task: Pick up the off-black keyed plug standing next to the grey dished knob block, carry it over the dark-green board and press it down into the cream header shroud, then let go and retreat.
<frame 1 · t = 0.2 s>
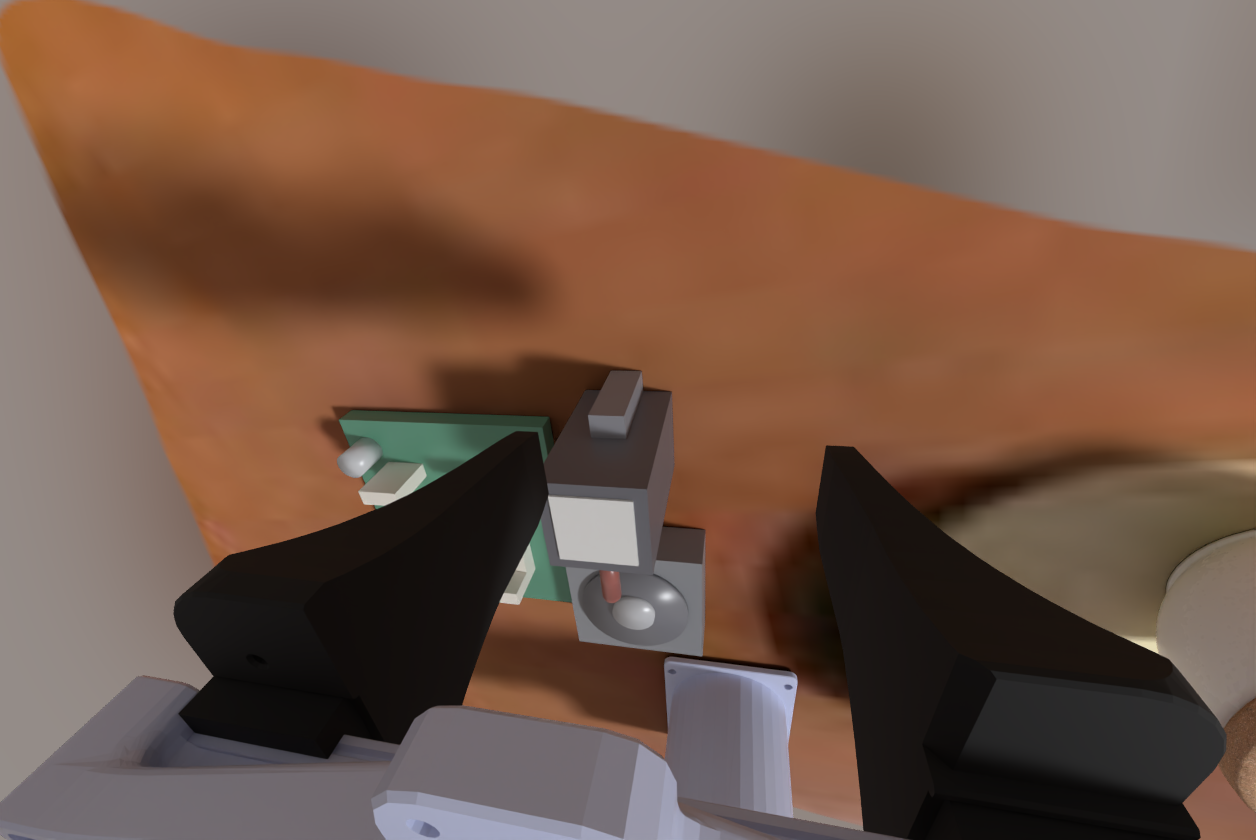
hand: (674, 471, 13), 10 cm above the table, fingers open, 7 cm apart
board: (472, 505, 29), on the table
plug: (631, 428, 24), on the table
grey dished knob block: (642, 571, 29), on the table
lidded jar: (1251, 575, 22), on the table
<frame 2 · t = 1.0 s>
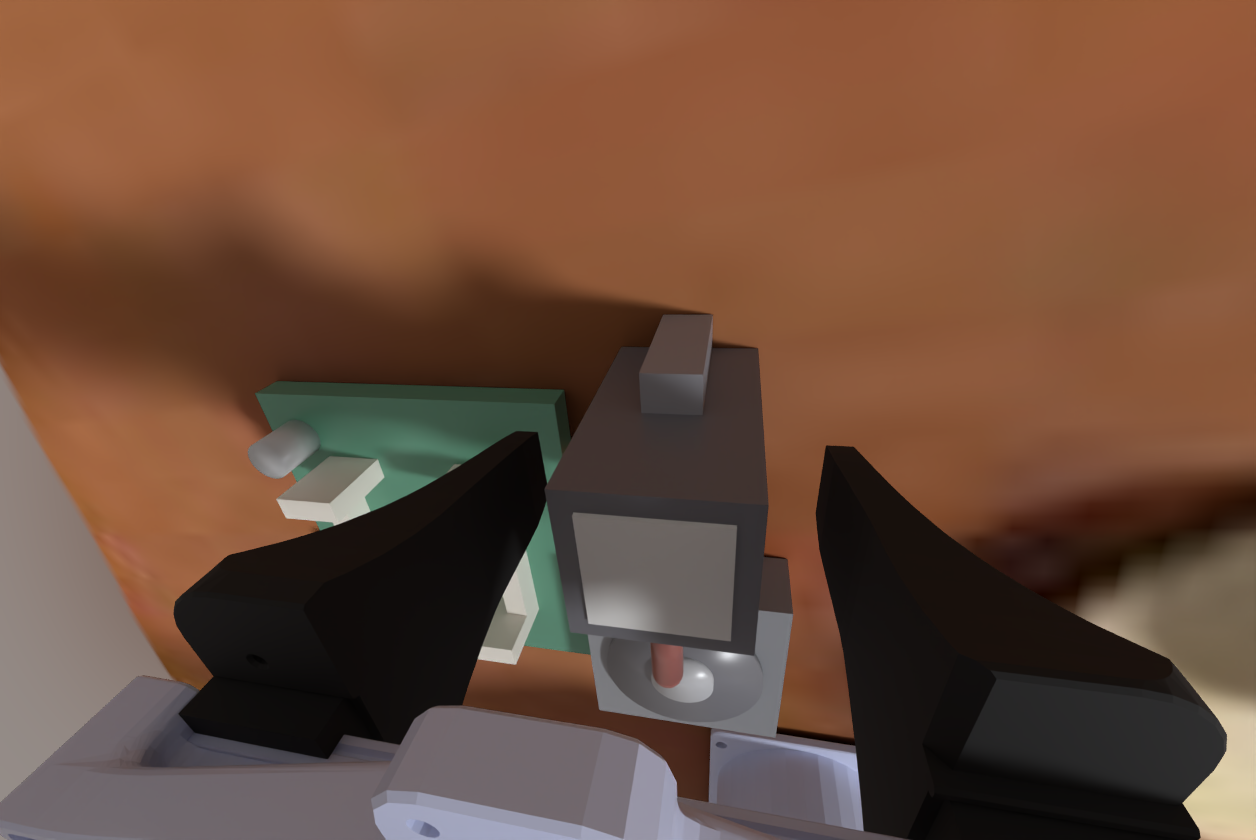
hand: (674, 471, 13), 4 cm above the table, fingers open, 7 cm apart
board: (452, 519, 20), on the table
plug: (688, 407, 16), on the table
grey dished knob block: (689, 614, 21), on the table
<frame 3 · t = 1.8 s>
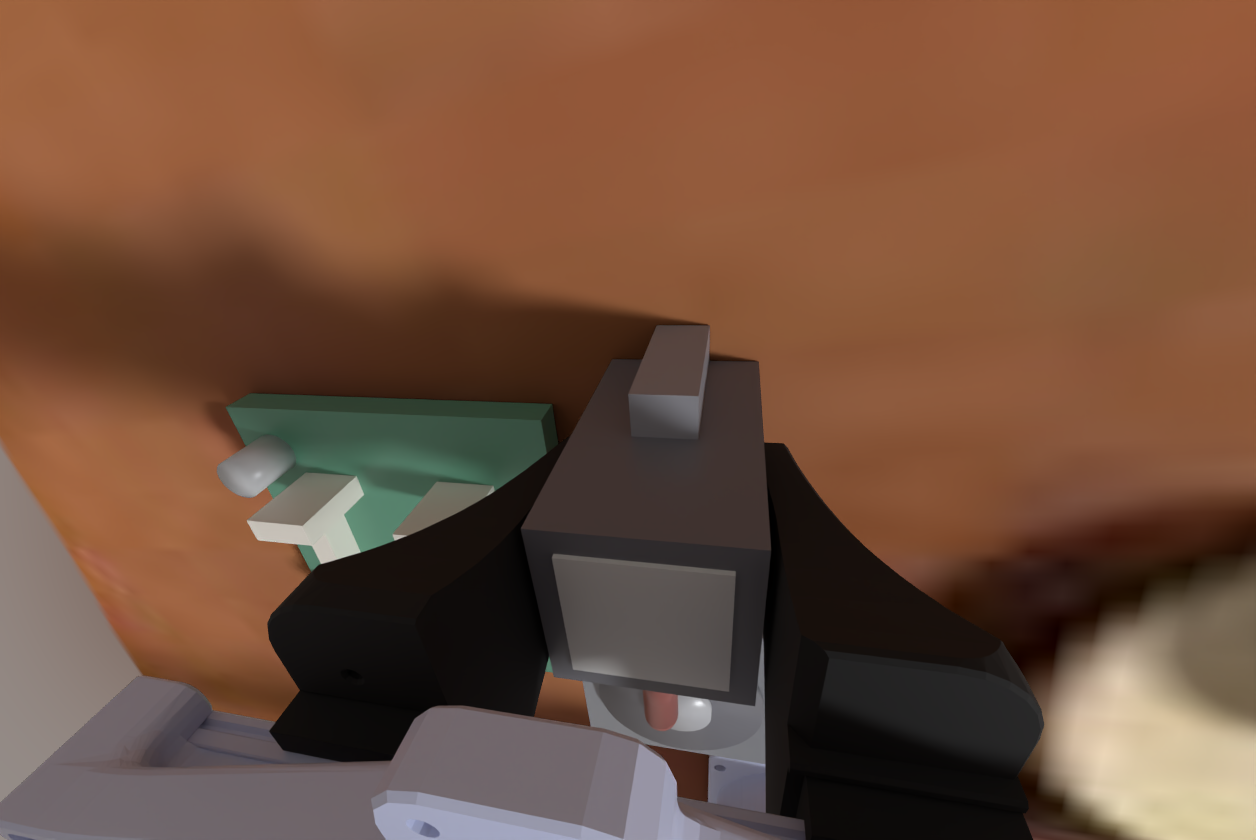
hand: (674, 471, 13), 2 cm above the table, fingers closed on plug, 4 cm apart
board: (437, 536, 20), on the table
plug: (684, 423, 15), on the table, touching gripper
grey dished knob block: (686, 635, 20), on the table
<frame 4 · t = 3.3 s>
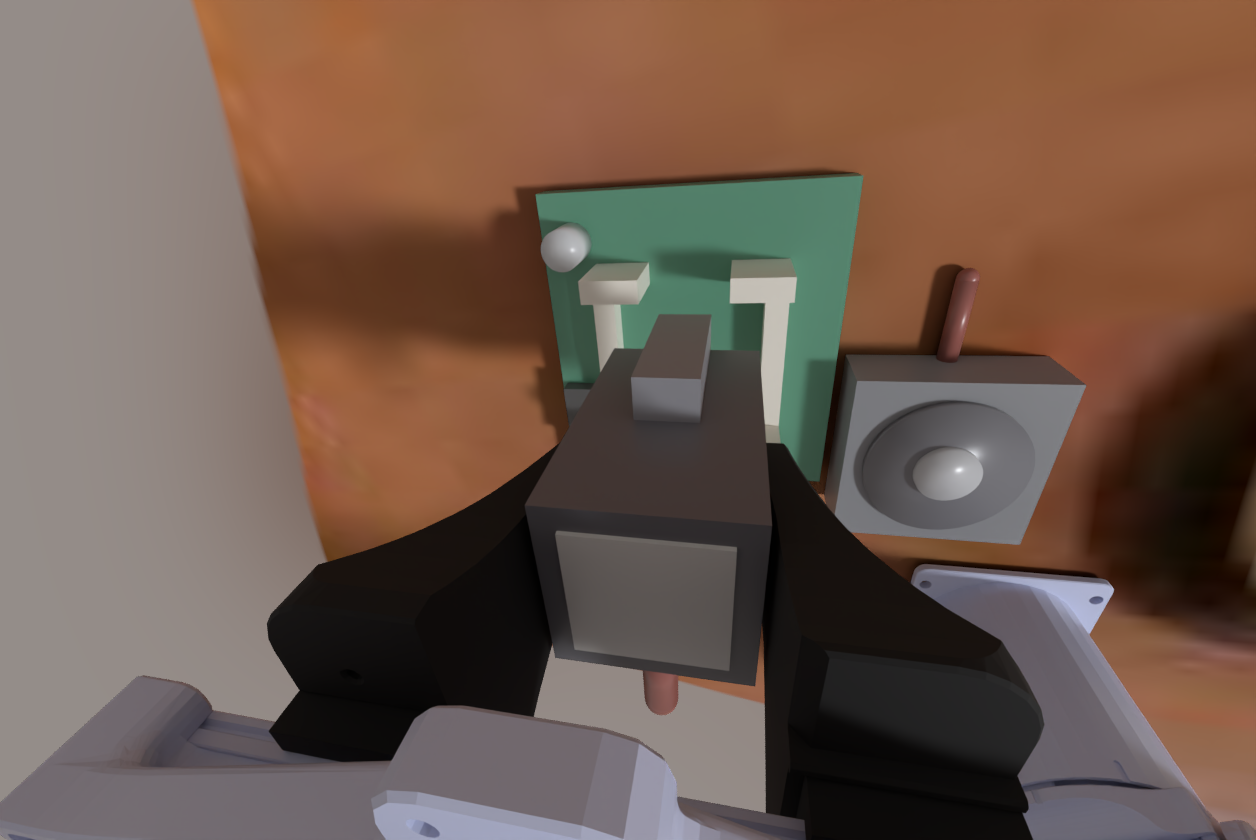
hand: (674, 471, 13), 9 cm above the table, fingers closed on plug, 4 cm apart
board: (692, 341, 21), on the table
plug: (685, 412, 15), point 7 cm above the table, touching gripper
grey dished knob block: (923, 433, 21), on the table
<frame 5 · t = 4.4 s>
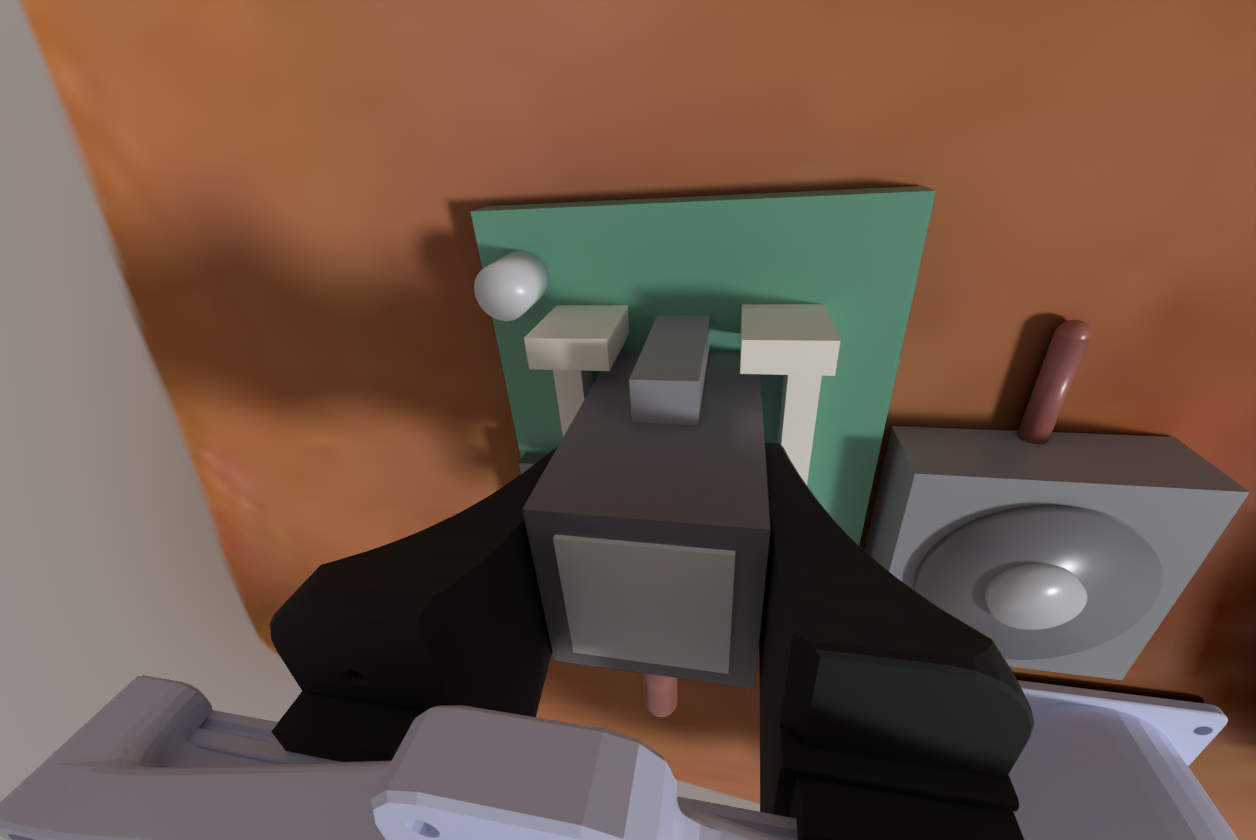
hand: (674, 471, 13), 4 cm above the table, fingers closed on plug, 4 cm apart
board: (687, 404, 16), on the table
plug: (684, 413, 15), point 1 cm above the table, touching board, gripper
grey dished knob block: (990, 525, 16), on the table
when the fingers open (4 cm above the table, at t = 4.7 s): plug stays where it is, resting on board.
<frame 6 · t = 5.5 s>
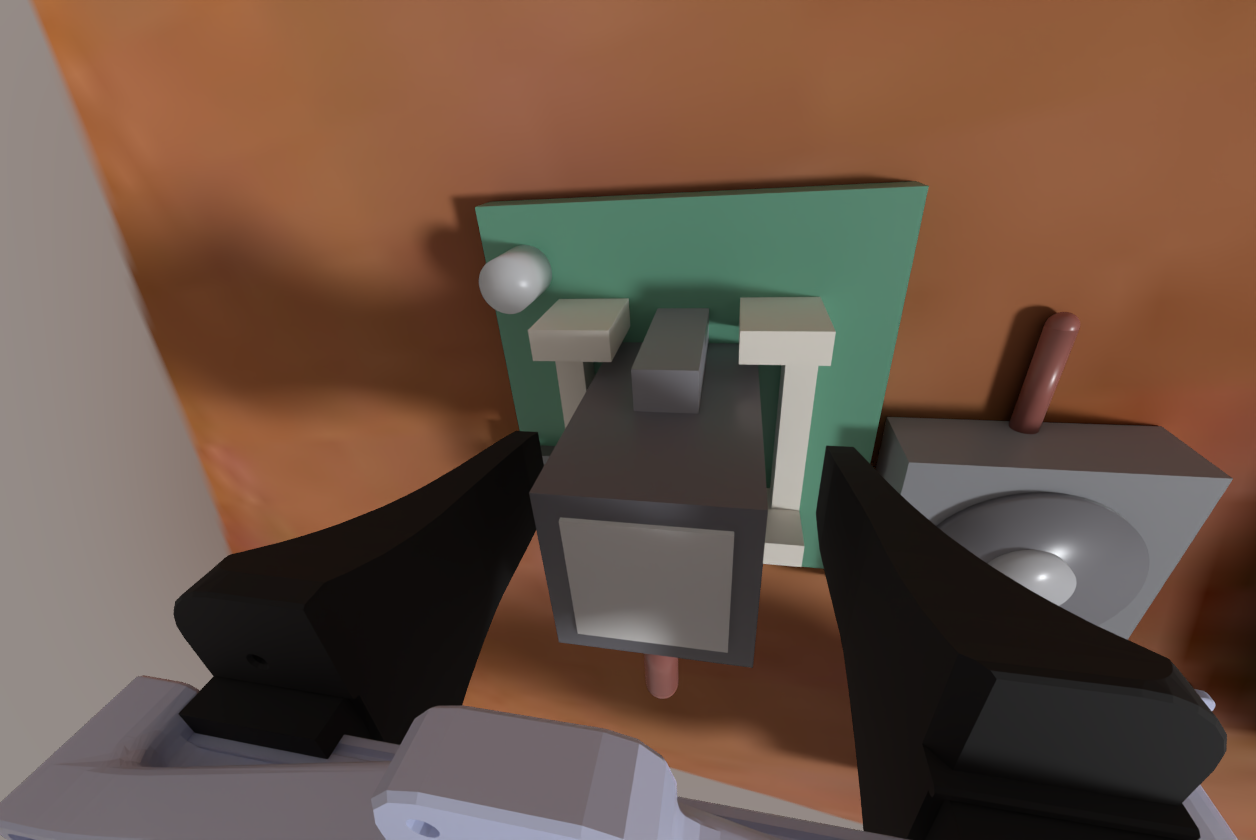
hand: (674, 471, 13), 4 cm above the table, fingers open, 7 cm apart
board: (687, 396, 16), on the table
plug: (683, 405, 15), point 1 cm above the table, touching board
grey dished knob block: (983, 515, 16), on the table
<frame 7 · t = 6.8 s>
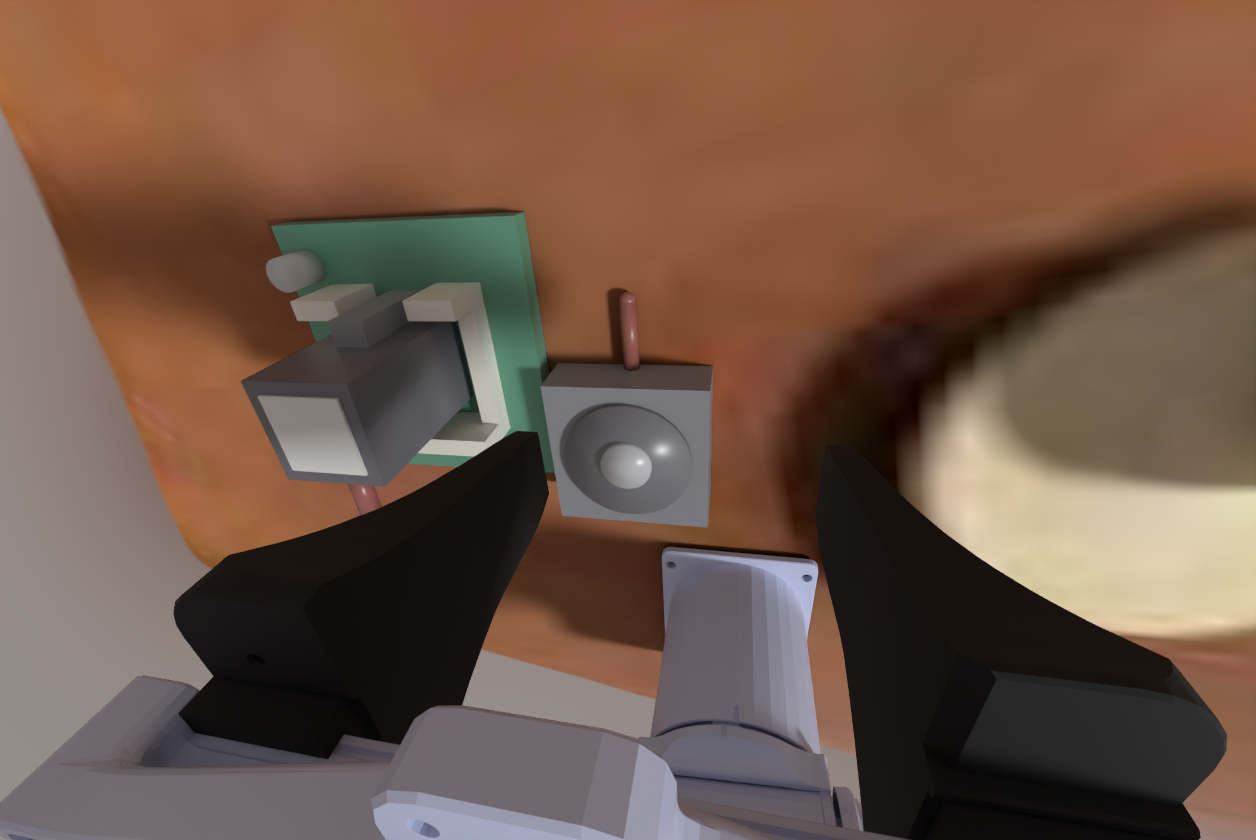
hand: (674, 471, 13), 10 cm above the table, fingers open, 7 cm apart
board: (436, 351, 24), on the table
plug: (424, 355, 23), point 1 cm above the table, touching board
grey dished knob block: (637, 431, 24), on the table
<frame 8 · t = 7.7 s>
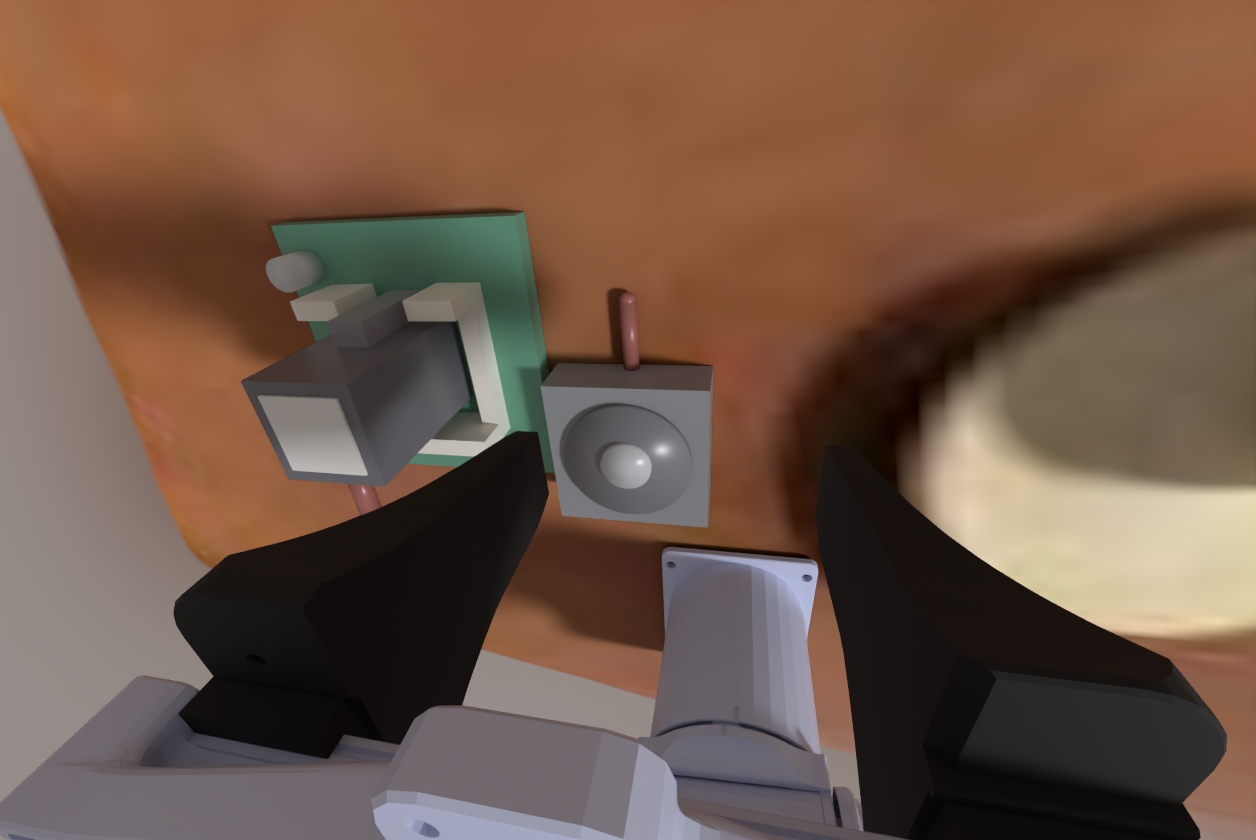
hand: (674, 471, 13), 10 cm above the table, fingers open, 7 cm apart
board: (436, 351, 24), on the table
plug: (424, 355, 23), point 1 cm above the table, touching board
grey dished knob block: (637, 431, 24), on the table
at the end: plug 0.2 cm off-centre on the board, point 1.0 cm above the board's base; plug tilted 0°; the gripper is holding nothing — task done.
